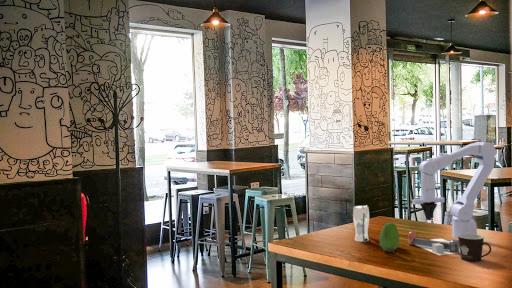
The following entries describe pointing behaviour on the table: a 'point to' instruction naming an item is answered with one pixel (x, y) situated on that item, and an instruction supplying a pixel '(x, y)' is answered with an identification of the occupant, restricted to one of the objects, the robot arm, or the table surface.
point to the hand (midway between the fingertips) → (428, 219)
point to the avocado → (389, 237)
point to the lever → (451, 246)
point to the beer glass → (361, 223)
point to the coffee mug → (471, 247)
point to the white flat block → (438, 248)
